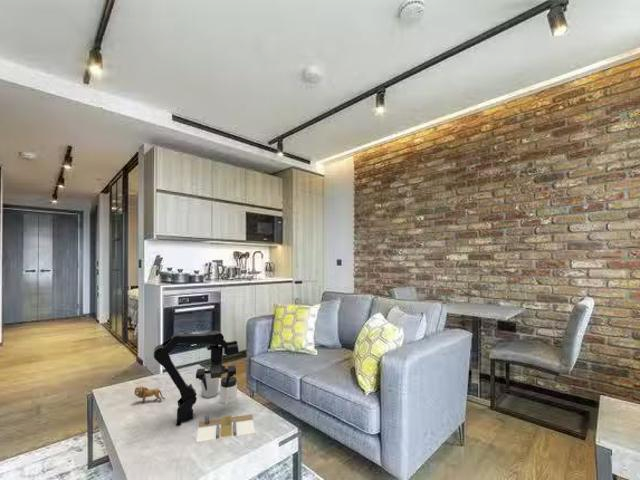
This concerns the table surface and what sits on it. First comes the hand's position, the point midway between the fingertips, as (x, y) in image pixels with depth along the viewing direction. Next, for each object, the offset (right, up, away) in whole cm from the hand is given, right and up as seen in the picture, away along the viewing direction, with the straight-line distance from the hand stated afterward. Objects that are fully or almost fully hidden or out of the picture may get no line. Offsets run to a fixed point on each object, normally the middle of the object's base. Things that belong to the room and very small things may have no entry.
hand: (216, 389), depth 156 cm
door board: (+9, -12, -14) cm, 20 cm away
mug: (-12, -13, +21) cm, 27 cm away
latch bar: (+10, -10, -17) cm, 23 cm away
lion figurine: (-40, -13, +11) cm, 43 cm away
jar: (+3, -13, +12) cm, 17 cm away
